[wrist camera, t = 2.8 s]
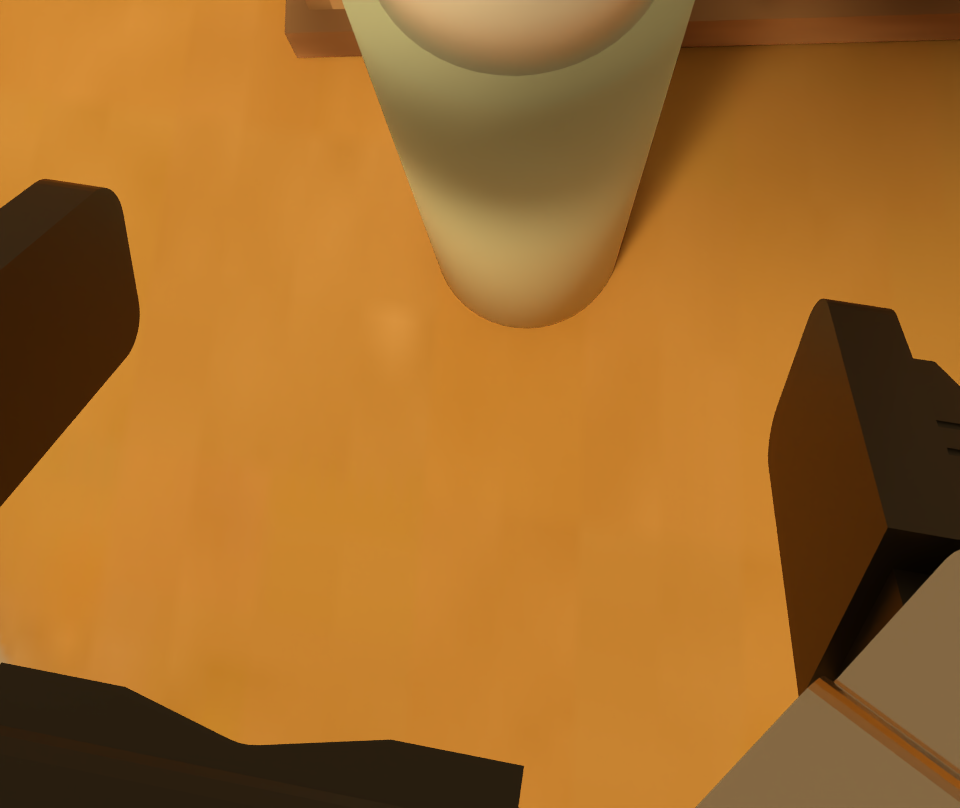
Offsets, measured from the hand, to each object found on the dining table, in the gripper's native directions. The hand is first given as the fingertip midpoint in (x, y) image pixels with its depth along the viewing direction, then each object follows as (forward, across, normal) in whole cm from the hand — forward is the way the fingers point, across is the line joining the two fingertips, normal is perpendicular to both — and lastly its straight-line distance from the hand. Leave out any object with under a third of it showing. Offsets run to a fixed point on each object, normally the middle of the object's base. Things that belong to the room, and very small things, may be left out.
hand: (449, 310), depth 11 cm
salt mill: (+12, 0, +5) cm, 13 cm away
